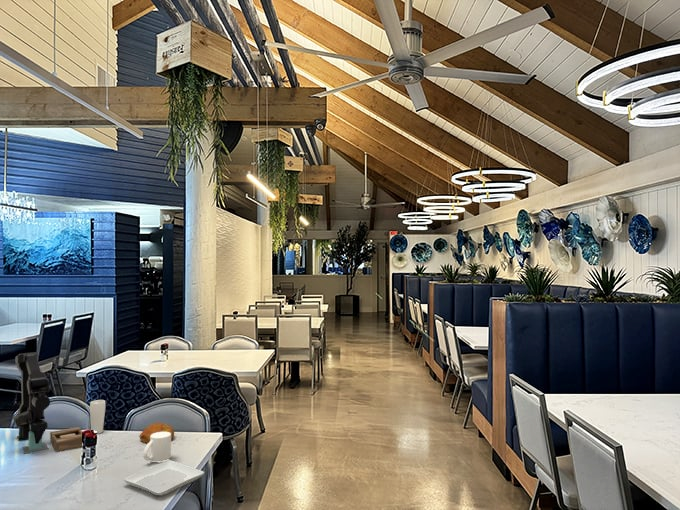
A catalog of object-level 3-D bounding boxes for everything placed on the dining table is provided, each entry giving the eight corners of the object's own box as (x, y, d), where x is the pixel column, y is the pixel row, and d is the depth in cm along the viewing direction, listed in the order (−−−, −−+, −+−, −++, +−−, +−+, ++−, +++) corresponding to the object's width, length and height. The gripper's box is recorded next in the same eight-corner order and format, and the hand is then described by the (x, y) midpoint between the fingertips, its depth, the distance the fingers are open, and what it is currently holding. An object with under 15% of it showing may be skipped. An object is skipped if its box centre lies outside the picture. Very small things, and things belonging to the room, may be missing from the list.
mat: (21, 447, 214) (21, 447, 214) (45, 443, 219) (45, 442, 219) (24, 454, 207) (24, 453, 207) (48, 449, 212) (48, 448, 212)
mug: (175, 433, 204) (150, 441, 194) (174, 458, 204) (149, 467, 194) (163, 430, 209) (138, 437, 199) (162, 454, 208) (137, 463, 198)
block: (40, 445, 216) (40, 429, 216) (41, 448, 213) (42, 432, 213) (28, 447, 213) (28, 431, 214) (29, 450, 210) (30, 434, 210)
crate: (50, 442, 221) (50, 431, 222) (79, 436, 229) (79, 426, 229) (56, 452, 209) (56, 441, 209) (86, 446, 217) (87, 436, 217)
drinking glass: (98, 435, 231) (99, 403, 232) (85, 434, 233) (86, 402, 233) (107, 430, 238) (108, 400, 238) (95, 429, 239) (96, 399, 240)
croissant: (160, 436, 237) (160, 419, 238) (179, 438, 228) (179, 421, 229) (133, 444, 226) (132, 426, 227) (152, 446, 217) (151, 428, 218)
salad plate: (158, 502, 166) (159, 492, 166) (121, 487, 177) (121, 477, 177) (205, 480, 184) (206, 471, 184) (169, 467, 195) (169, 459, 195)
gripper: (12, 403, 216) (11, 438, 215) (17, 413, 201) (16, 450, 201) (41, 399, 223) (40, 433, 222) (48, 408, 208) (47, 445, 208)
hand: (35, 440), depth 213 cm, fingers open, 9 cm apart
